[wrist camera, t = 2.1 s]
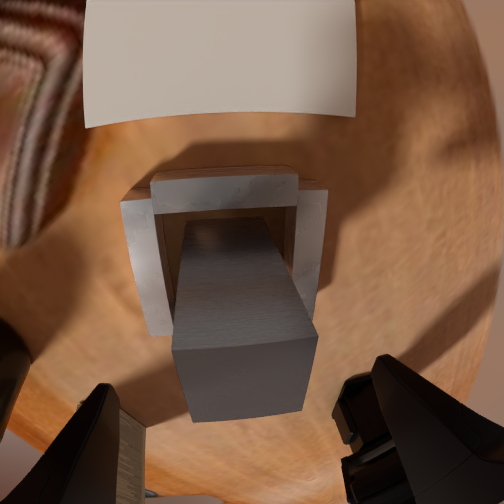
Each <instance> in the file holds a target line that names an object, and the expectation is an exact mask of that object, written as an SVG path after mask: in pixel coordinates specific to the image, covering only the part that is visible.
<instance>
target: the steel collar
mask: <svg viewBox="0 0 504 504" xmlns="http://www.w3.org/2000/svg"><path fill="white" fill-rule="evenodd" d="M298 178H299V174H298V173H296V172H295V171H294V170H293V169H291V168H290V167H289V166H287V165H271V166H236V167H215V168H199V169H185V170H173V171H162V172H157V173H156V174H155V175H154V177H153V178H152V180H151V181H150V187H147V188H138V189H130V190H129V191H128V192H127V194H126V195H125V196H124V197H123V198H122V200H121V201H120V206H121V212H122V218H123V224H124V229H125V235H126V240H127V245H128V250H129V255H130V260H131V264H132V269H133V273H134V278H135V282H136V286H137V290H138V294H139V298H140V302H141V306H142V310H143V313H144V317H145V321H146V324H147V328H148V331H149V335H150V336H173V325H174V315H175V300H174V295H173V289H172V283H171V277H170V271H169V265H168V259H167V252H166V245H165V238H164V231H163V223H162V215H161V214H165V213H177V212H191V211H205V210H221V209H238V208H257V207H280V206H286V212H285V233H284V252H283V261H284V263H285V265H286V267H287V269H288V271H289V273H290V276H291V278H292V280H293V282H294V284H295V286H296V288H297V290H298V293H299V295H300V297H301V299H302V301H303V303H304V305H305V308H306V310H307V312H308V314H309V316H310V318H311V321H312V320H313V314H314V308H315V301H316V294H317V287H318V280H319V273H320V265H321V257H322V249H323V240H324V231H325V222H326V212H327V201H328V189H327V188H325V187H324V186H323V185H321V184H320V183H319V182H317V181H316V180H315V179H298Z"/></svg>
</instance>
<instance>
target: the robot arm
mask: <svg viewBox="0 0 504 504" xmlns="http://www.w3.org/2000/svg"><path fill="white" fill-rule="evenodd" d="M332 418H333V419H335V422H336V425H337V427H338V430H339V433H340V435H341V438H342V440H343V443H344V444H346V445H347V444H349V445H350V447H351V450H352V452H353V454H352V455H350V456H348V457H347V456H346V457H344V458H342V459H341V463H342V466H341V468H342V473H343V478H344V484H345V489H346V495H347V502H348V503H349V504H504V427H502V426H500V425H498V424H496V423H494V422H492V421H490V420H488V419H487V418H485V417H483V416H481V415H479V414H478V413H476V412H474V411H473V410H471V409H470V408H468V407H466V406H465V405H464V404H462V403H460V402H459V401H457V400H456V399H454V398H453V397H451V396H450V395H449V394H447V393H446V392H444V391H443V390H441V389H440V388H438V387H437V386H435V385H434V384H432V383H431V382H429V381H428V380H426V379H425V378H423V377H422V376H420V375H419V374H417V373H416V372H414V371H413V370H411V369H410V368H409V367H407V366H406V365H404V364H403V363H401V362H400V361H398V360H397V359H395V358H394V357H392V356H391V355H389V354H384V355H380V356H378V357H377V358H376V360H375V363H374V365H373V368H372V370H371V375H370V376H367V377H363V378H359V379H354V380H350V381H347V382H345V383H344V385H343V387H342V390H341V392H340V395H339V397H338V400H337V402H336V404H335V407H334V409H333V412H332ZM119 446H120V401H119V397H118V395H117V394H116V392H115V390H114V388H113V386H112V385H111V384H109V383H99V384H98V385H97V386H96V387H95V389H94V390H93V391H92V392H91V394H90V395H89V396H88V397H87V399H86V400H85V401H84V402H83V404H82V405H81V406H80V407H79V409H78V410H77V411H76V412H75V414H74V415H73V416H72V418H71V419H70V420H69V421H68V423H67V424H66V425H65V427H64V428H63V429H62V430H61V432H60V433H59V434H58V436H57V437H56V438H55V440H54V441H53V442H52V443H51V445H50V446H49V447H48V449H47V450H46V451H45V453H44V455H42V457H41V458H40V459H39V461H38V462H37V463H36V464H35V466H34V467H33V468H32V469H31V471H30V472H29V473H28V474H27V475H26V476H25V478H24V479H23V480H22V481H21V482H20V483H19V484H18V485H17V486H16V487H15V488H14V489H13V490H12V491H11V492H10V493H9V495H8V496H7V497H5V499H3V500H2V501H1V502H0V504H116V488H117V471H118V457H119Z"/></svg>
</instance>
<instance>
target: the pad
mask: <svg viewBox="0 0 504 504" xmlns="http://www.w3.org/2000/svg"><path fill="white" fill-rule="evenodd" d="M356 81H357V47H356V16H355V0H87V3H86V13H85V25H84V43H83V97H84V116H85V128H90V127H95V126H101V125H106V124H112V123H118V122H124V121H131V120H138V119H146V118H154V117H163V116H173V115H185V114H199V113H218V112H292V113H311V114H325V115H336V116H347V117H355V114H356Z"/></svg>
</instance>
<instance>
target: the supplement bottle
mask: <svg viewBox="0 0 504 504" xmlns="http://www.w3.org/2000/svg"><path fill="white" fill-rule="evenodd" d="M29 369H30V356H29V353H28V350H27V348H26V346H25V344H24V343H23V341H22V340H21V339H20V337H19V336H18V335H17V334H16V333H15V332H14V331H13V330H12V329H11V328H10V327H9V326H8V325H7V324H6V323H4V322H3V321H2V320H0V443H1V441H2V438H3V435H4V432H5V430H6V427H7V424H8V421H9V419H10V416H11V413H12V410H13V408H14V405H15V403H16V400H17V398H18V395H19V393H20V390H21V388H22V386H23V383H24V381H25V379H26V376H27V374H28V371H29Z"/></svg>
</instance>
